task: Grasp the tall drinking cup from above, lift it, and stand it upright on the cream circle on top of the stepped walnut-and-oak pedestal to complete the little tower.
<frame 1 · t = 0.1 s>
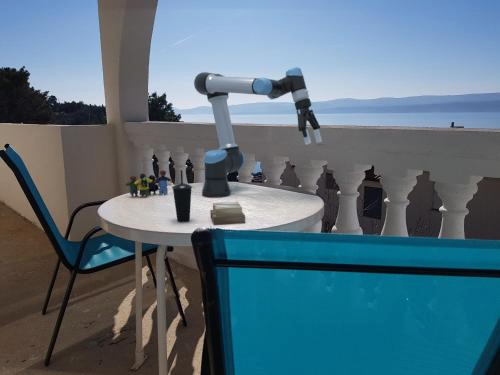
hand: (314, 143, 176), 28 cm above the table, tool tilted 20°, fingers open, 13 cm apart
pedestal: (227, 219, 146), on the table
doll family: (150, 196, 193), on the table
drinking cup: (183, 221, 146), on the table
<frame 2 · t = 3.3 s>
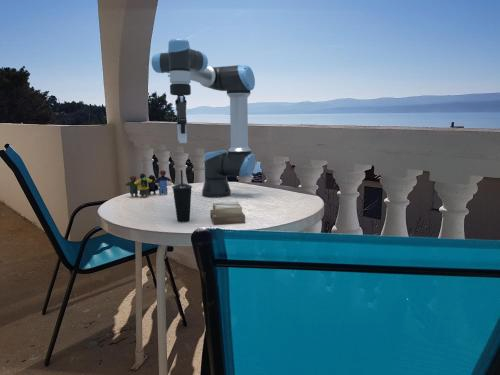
hand: (182, 142, 140), 31 cm above the table, tool pointing down, fingers open, 13 cm apart
nothing on the table moved.
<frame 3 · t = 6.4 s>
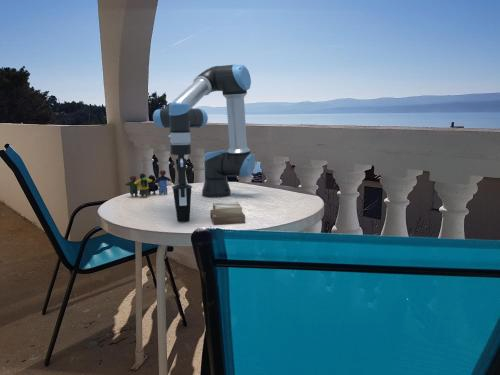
hand: (182, 203, 144), 7 cm above the table, tool pointing down, fingers closed on drinking cup, 7 cm apart
drinking cup: (183, 221, 146), on the table, touching gripper
everything else where it was.
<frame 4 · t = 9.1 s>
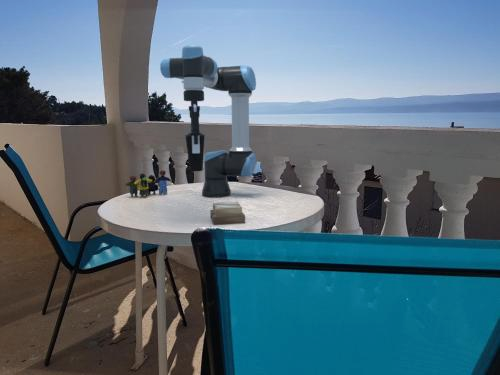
hand: (195, 152, 141), 27 cm above the table, tool pointing down, fingers closed on drinking cup, 7 cm apart
drinking cup: (196, 171, 142), point 20 cm above the table, touching gripper
everything else where it was.
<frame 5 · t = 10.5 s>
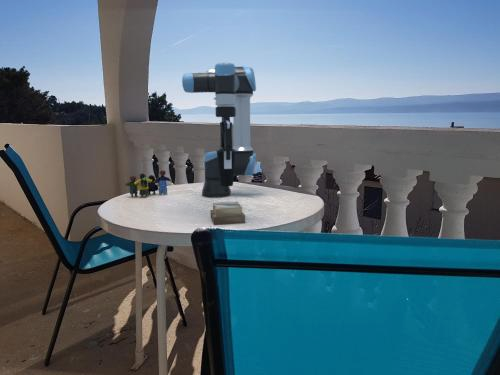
hand: (226, 167, 142), 21 cm above the table, tool pointing down, fingers closed on drinking cup, 7 cm apart
drinking cup: (226, 185, 143), point 14 cm above the table, touching gripper
everything else where it was.
when the fingers open (15 cm above the table, at t = 11.8 s): drinking cup drops 1 cm, resting on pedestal.
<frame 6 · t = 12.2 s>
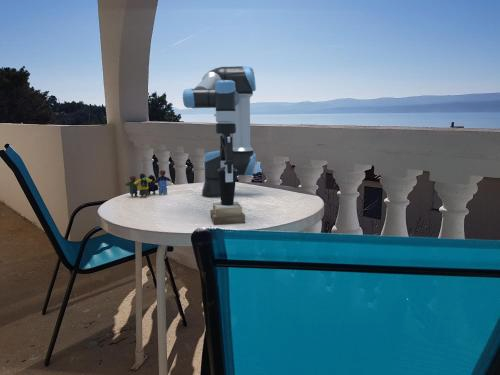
hand: (226, 179, 143), 16 cm above the table, tool pointing down, fingers open, 12 cm apart
drinking cup: (227, 204, 145), point 6 cm above the table, touching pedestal
everything else where it was.
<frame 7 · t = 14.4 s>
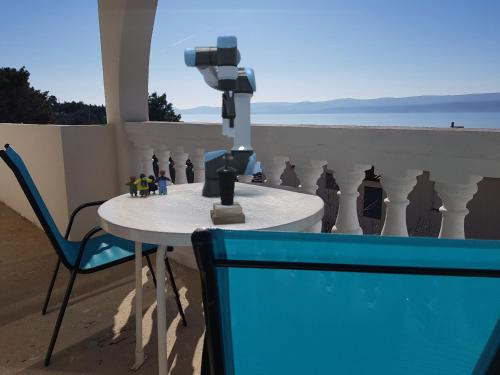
hand: (228, 136, 143), 33 cm above the table, tool pointing down, fingers open, 13 cm apart
nothing on the table moved.
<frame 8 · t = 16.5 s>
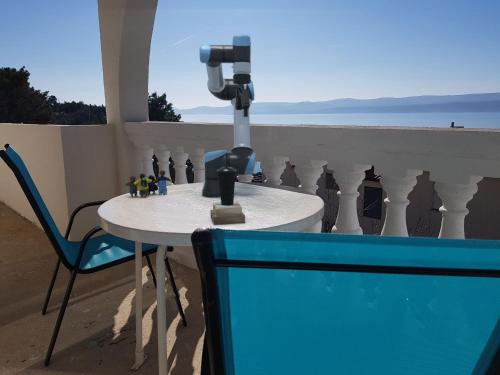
hand: (242, 125, 160), 37 cm above the table, tool pointing down, fingers open, 13 cm apart
nothing on the table moved.
at the end: drinking cup 0.0 cm off-centre on the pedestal, point 6.1 cm above the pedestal's base; drinking cup tilted 0°; the gripper is holding nothing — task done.
